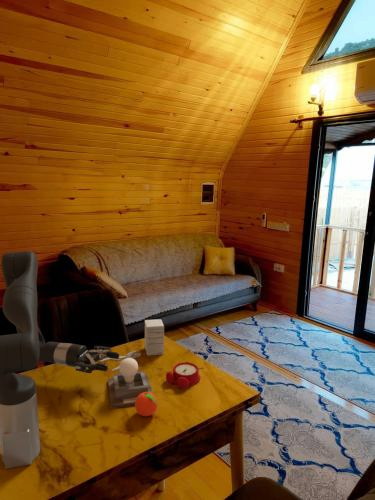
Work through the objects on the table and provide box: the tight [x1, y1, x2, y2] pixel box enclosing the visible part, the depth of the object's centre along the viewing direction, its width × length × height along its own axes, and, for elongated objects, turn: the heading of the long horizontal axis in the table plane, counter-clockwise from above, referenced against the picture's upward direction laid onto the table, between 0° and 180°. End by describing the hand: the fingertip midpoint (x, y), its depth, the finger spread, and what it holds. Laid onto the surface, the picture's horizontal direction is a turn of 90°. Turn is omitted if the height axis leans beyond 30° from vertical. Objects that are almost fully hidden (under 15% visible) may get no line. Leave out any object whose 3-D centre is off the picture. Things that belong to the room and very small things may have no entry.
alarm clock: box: [165, 361, 204, 390], centre depth 133 cm, size 10×6×15 cm
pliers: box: [99, 349, 142, 372], centre depth 147 cm, size 10×2×15 cm
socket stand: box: [107, 370, 154, 409], centre depth 126 cm, size 16×14×4 cm
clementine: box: [134, 392, 159, 417], centre depth 114 cm, size 8×7×7 cm
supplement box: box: [144, 319, 165, 356], centre depth 154 cm, size 7×7×13 cm
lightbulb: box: [118, 358, 139, 388], centre depth 125 cm, size 6×6×11 cm
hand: (113, 361), depth 126 cm, fingers open, 8 cm apart
